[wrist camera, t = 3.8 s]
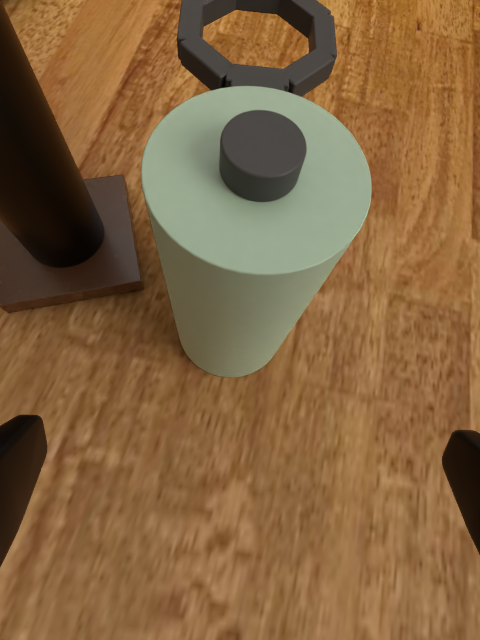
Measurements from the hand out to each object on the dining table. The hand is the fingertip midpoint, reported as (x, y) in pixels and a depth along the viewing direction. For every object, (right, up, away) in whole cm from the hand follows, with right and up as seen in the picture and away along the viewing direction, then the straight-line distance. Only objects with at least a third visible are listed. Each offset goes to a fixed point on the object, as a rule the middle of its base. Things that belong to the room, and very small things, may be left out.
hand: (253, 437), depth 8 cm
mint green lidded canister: (-1, +5, +16) cm, 17 cm away
